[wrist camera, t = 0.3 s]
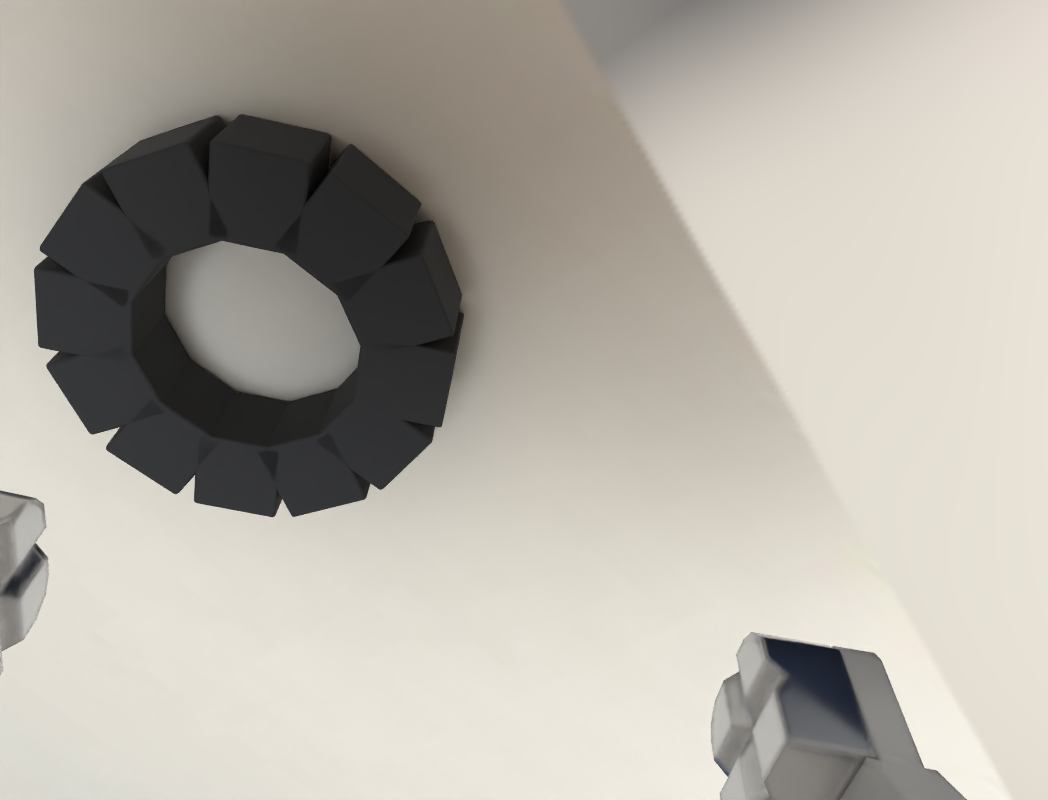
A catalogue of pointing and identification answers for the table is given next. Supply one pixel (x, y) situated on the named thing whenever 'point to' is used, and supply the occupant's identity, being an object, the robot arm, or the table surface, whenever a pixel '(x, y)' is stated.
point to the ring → (271, 224)
